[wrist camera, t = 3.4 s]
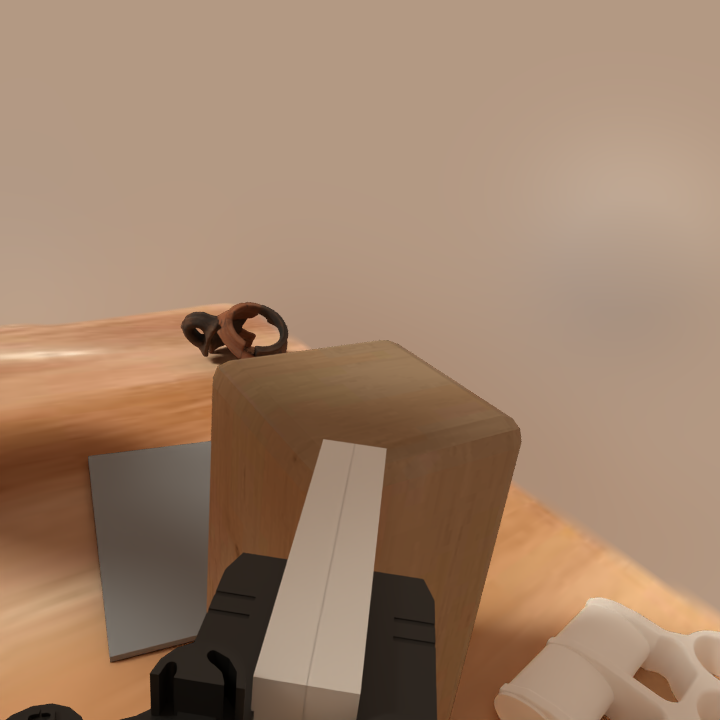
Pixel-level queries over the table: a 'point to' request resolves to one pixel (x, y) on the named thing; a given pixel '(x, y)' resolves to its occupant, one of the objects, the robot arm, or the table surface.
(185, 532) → the rubber mat
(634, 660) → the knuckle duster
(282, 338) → the brown hollow looped part
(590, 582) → the table surface
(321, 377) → the wooden block
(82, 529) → the table surface
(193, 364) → the table surface
